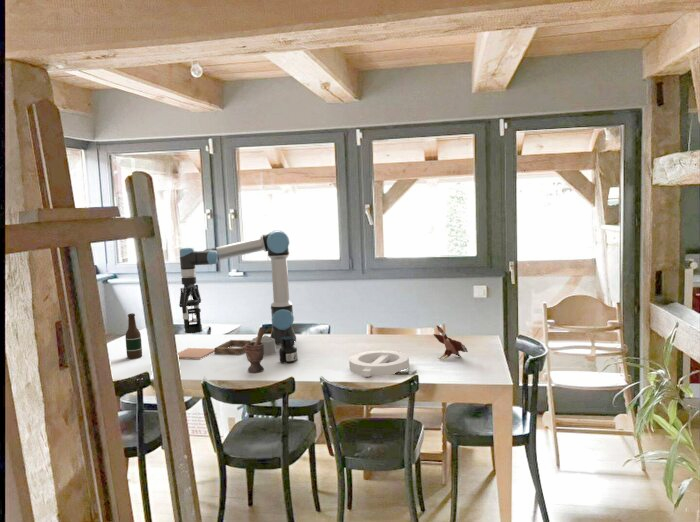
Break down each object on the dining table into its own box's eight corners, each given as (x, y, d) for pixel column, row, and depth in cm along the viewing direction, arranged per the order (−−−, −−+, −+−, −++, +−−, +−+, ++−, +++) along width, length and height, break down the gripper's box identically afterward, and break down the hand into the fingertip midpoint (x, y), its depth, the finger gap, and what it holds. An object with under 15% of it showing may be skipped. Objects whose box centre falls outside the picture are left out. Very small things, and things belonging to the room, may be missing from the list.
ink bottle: (290, 364, 278) (288, 340, 277) (275, 363, 283) (274, 339, 282) (301, 359, 287) (300, 336, 286) (287, 358, 291) (285, 335, 290)
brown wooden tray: (256, 345, 321) (256, 340, 321) (241, 354, 303) (241, 348, 303) (231, 345, 325) (230, 339, 325) (214, 353, 307) (214, 348, 307)
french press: (192, 329, 314) (189, 288, 312) (206, 329, 311) (203, 288, 308) (179, 333, 303) (175, 291, 301) (193, 334, 300) (190, 291, 298)
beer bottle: (145, 355, 310) (142, 312, 307) (135, 359, 302) (132, 315, 300) (133, 355, 312) (130, 312, 310) (124, 358, 305) (120, 315, 303)
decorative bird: (413, 348, 284) (422, 320, 285) (443, 357, 291) (451, 330, 292) (443, 362, 258) (453, 330, 258) (474, 371, 264) (484, 341, 265)
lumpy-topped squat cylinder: (257, 349, 311) (256, 334, 311) (279, 350, 307) (278, 335, 306) (248, 354, 302) (247, 338, 301) (270, 355, 297) (269, 339, 297)
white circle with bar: (364, 380, 249) (364, 369, 249) (340, 365, 275) (340, 355, 274) (419, 370, 260) (419, 360, 259) (392, 356, 285) (391, 347, 285)
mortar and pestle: (252, 366, 278) (250, 326, 277) (269, 366, 277) (267, 326, 275) (244, 373, 267) (241, 331, 265) (261, 373, 266) (259, 331, 264)
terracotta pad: (217, 350, 314) (217, 348, 314) (200, 359, 297) (200, 357, 297) (188, 349, 319) (188, 348, 319) (170, 358, 301) (170, 356, 301)
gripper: (193, 274, 316) (196, 312, 318) (170, 279, 293) (173, 321, 296) (205, 273, 314) (208, 313, 316) (183, 279, 292) (186, 321, 294)
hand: (191, 317), depth 306 cm, fingers closed on french press, 11 cm apart
